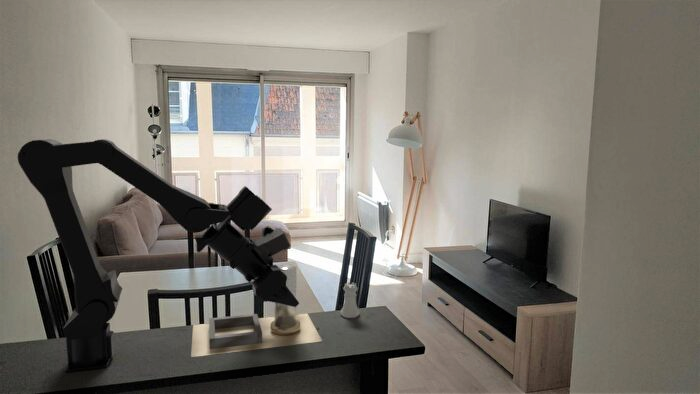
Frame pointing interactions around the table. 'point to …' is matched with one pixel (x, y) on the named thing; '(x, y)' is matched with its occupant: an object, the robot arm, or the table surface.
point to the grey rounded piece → (286, 308)
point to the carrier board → (246, 334)
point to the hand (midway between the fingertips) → (291, 296)
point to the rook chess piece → (350, 301)
